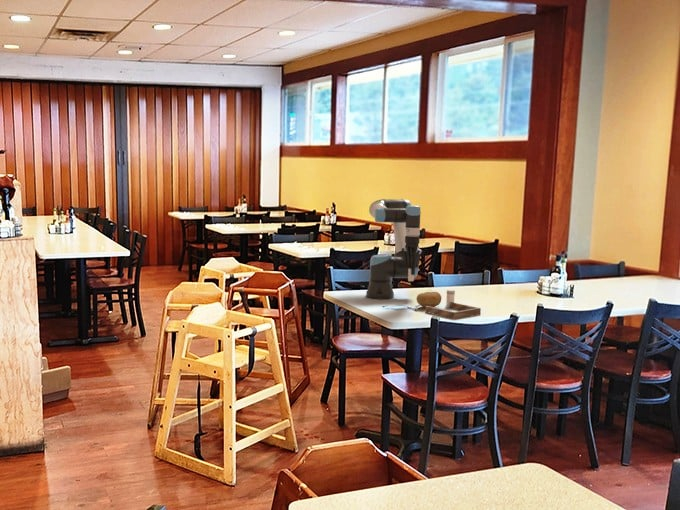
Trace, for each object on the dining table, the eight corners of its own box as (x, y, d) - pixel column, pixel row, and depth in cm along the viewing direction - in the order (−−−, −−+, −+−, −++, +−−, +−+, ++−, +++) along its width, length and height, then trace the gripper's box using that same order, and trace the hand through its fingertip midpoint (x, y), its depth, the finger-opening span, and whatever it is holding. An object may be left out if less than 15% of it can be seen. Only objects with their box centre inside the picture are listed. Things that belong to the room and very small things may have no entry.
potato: (411, 307, 359) (412, 291, 358) (434, 305, 366) (434, 289, 365) (422, 310, 351) (422, 294, 350) (445, 308, 357) (446, 293, 356)
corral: (425, 312, 347) (425, 306, 346) (451, 307, 359) (451, 302, 359) (454, 318, 333) (454, 312, 332) (480, 314, 345) (480, 308, 344)
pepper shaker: (444, 306, 363) (444, 290, 362) (449, 305, 366) (450, 289, 365) (450, 307, 360) (451, 291, 359) (455, 306, 362) (456, 290, 361)
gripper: (398, 234, 366) (396, 279, 369) (416, 237, 356) (414, 283, 359) (408, 234, 371) (407, 278, 374) (426, 236, 361) (425, 281, 364)
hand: (410, 280), depth 366 cm, fingers closed
